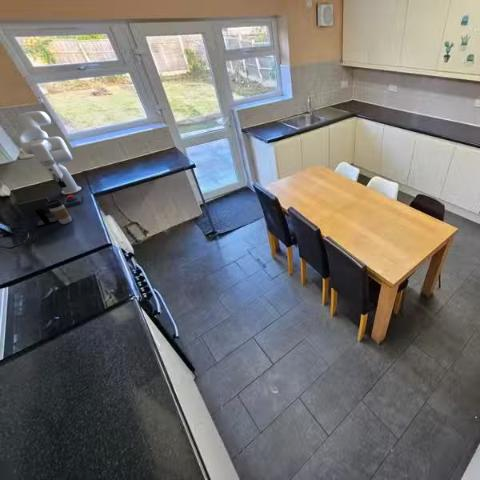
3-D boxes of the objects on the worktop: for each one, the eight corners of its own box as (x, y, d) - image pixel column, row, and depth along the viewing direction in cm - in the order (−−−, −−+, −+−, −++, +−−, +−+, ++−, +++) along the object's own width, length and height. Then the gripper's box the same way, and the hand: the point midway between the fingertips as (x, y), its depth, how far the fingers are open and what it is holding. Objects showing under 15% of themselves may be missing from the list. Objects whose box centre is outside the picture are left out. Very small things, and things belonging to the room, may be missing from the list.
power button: (68, 197, 199) (66, 195, 198) (74, 196, 201) (72, 194, 200) (68, 199, 197) (66, 197, 196) (74, 198, 198) (72, 196, 197)
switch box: (66, 201, 202) (63, 196, 200) (81, 197, 206) (78, 193, 204) (66, 207, 195) (62, 202, 193) (81, 203, 199) (78, 198, 197)
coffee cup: (65, 225, 176) (51, 205, 166) (55, 224, 177) (40, 204, 168) (77, 218, 182) (64, 199, 173) (67, 217, 184) (53, 198, 174)
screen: (29, 216, 174) (18, 203, 168) (56, 210, 180) (46, 196, 174) (28, 218, 173) (17, 204, 166) (56, 211, 179) (46, 197, 173)
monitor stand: (39, 222, 180) (29, 208, 173) (58, 217, 184) (48, 204, 178) (38, 227, 175) (27, 213, 169) (57, 222, 179) (47, 208, 173)
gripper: (53, 164, 179) (69, 189, 190) (55, 157, 189) (71, 182, 200) (39, 166, 175) (56, 192, 186) (42, 160, 185) (58, 184, 196)
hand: (64, 187), depth 193 cm, fingers closed
